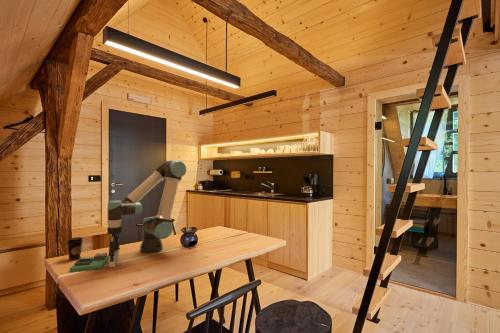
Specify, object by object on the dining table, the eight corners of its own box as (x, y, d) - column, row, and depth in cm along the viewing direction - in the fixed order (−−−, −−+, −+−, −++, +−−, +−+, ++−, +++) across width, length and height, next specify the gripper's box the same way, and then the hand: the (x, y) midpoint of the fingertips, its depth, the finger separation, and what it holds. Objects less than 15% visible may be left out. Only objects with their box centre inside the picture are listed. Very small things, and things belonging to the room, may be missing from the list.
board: (109, 259, 169) (109, 251, 169) (101, 269, 152) (101, 260, 152) (80, 261, 165) (80, 253, 165) (69, 271, 148) (69, 262, 148)
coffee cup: (86, 257, 172) (86, 237, 172) (74, 261, 164) (74, 240, 164) (75, 256, 175) (75, 236, 175) (63, 260, 167) (63, 239, 167)
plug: (119, 262, 163) (119, 249, 163) (117, 264, 159) (117, 250, 159) (111, 263, 161) (111, 249, 162) (109, 265, 158) (109, 251, 158)
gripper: (111, 223, 170) (111, 258, 170) (102, 230, 149) (102, 271, 148) (124, 222, 172) (124, 257, 172) (117, 230, 151) (117, 269, 150)
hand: (114, 263), depth 160 cm, fingers open, 10 cm apart
